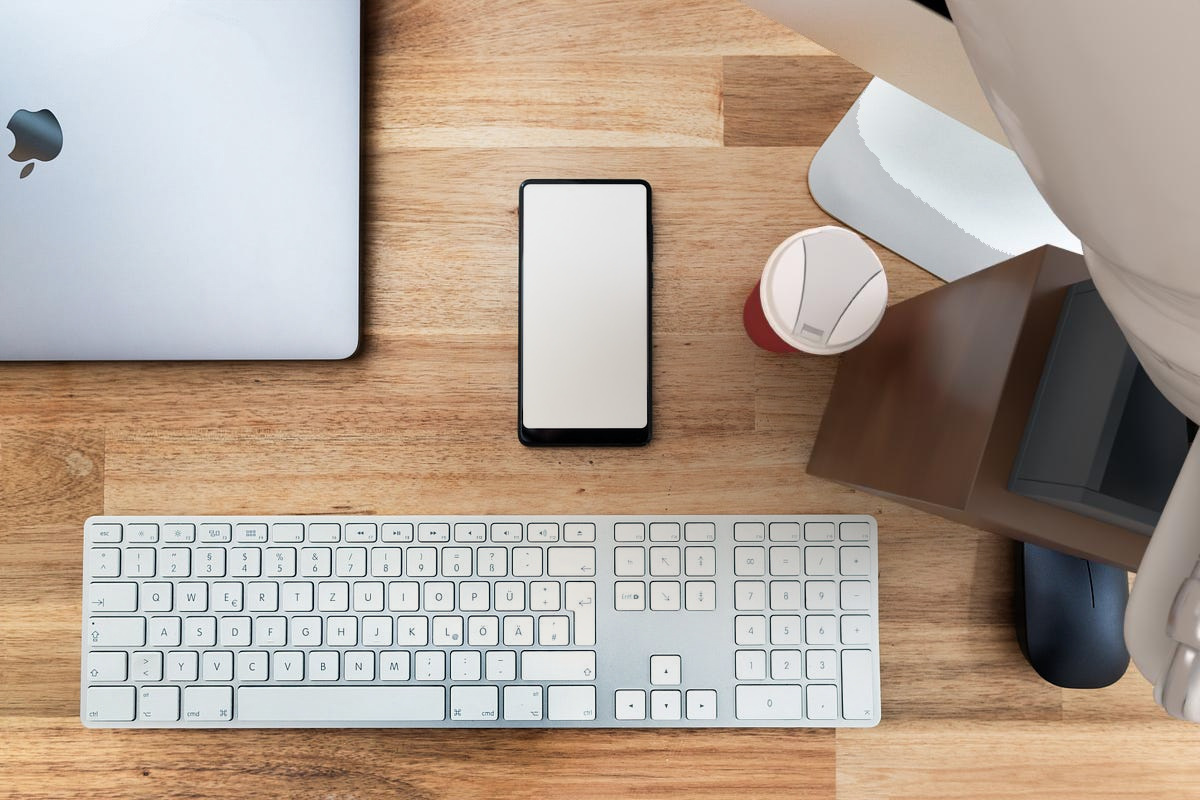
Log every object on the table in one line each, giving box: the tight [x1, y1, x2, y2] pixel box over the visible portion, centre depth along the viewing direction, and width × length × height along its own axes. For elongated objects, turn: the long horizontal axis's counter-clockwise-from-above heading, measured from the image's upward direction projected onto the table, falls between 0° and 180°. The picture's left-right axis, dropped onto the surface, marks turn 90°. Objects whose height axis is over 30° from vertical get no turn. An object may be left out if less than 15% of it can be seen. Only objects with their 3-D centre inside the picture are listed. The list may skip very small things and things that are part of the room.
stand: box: [805, 243, 1151, 575], centre depth 50 cm, size 12×14×28 cm
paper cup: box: [742, 224, 889, 355], centre depth 58 cm, size 8×8×14 cm
